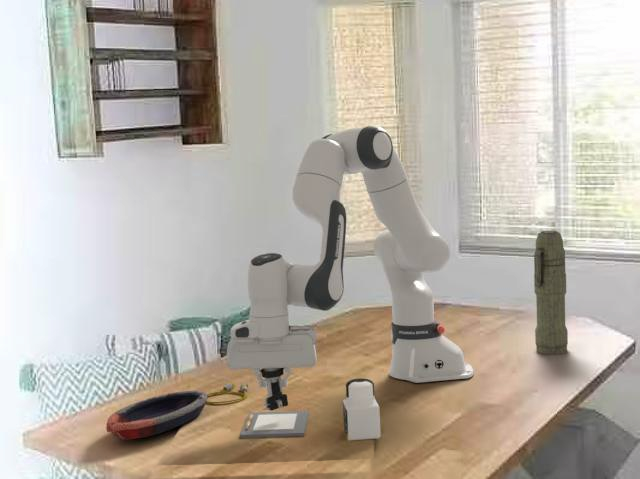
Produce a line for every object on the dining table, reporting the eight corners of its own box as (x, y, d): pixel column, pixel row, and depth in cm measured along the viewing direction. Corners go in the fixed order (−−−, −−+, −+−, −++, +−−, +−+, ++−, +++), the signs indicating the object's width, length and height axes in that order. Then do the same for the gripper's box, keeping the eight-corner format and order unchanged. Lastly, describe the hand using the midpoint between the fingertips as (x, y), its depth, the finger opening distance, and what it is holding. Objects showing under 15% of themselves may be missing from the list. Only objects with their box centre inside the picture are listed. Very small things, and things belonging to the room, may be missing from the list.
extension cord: (267, 393, 231) (266, 386, 231) (223, 409, 219) (223, 401, 219) (233, 387, 239) (233, 380, 239) (189, 402, 227) (189, 394, 226)
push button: (270, 414, 198) (264, 370, 197) (255, 410, 202) (250, 367, 201) (293, 406, 203) (288, 362, 202) (278, 402, 207) (273, 360, 206)
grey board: (308, 413, 210) (308, 407, 210) (304, 435, 195) (303, 429, 194) (249, 415, 211) (249, 409, 211) (240, 438, 195) (239, 431, 195)
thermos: (576, 350, 258) (574, 229, 254) (554, 359, 249) (551, 234, 246) (549, 346, 264) (546, 228, 260) (527, 354, 256) (524, 233, 252)
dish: (226, 411, 216) (224, 391, 216) (131, 450, 191) (129, 428, 191) (179, 403, 225) (178, 384, 225) (83, 439, 200) (81, 418, 200)
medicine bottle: (344, 430, 197) (341, 377, 196) (376, 428, 197) (373, 375, 196) (347, 441, 190) (345, 386, 188) (381, 438, 190) (378, 383, 189)
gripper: (316, 322, 203) (319, 381, 205) (227, 325, 204) (231, 384, 206) (315, 327, 197) (318, 389, 198) (223, 331, 198) (227, 392, 199)
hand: (273, 386), depth 202 cm, fingers closed on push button, 3 cm apart
